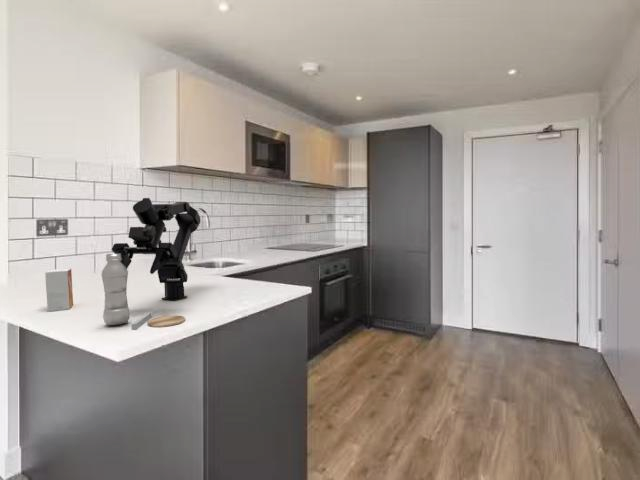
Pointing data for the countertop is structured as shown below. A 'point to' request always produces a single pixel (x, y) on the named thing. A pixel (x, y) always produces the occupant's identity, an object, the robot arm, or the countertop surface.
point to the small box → (59, 289)
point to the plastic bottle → (115, 291)
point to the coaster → (166, 321)
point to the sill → (141, 321)
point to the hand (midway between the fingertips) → (136, 273)
